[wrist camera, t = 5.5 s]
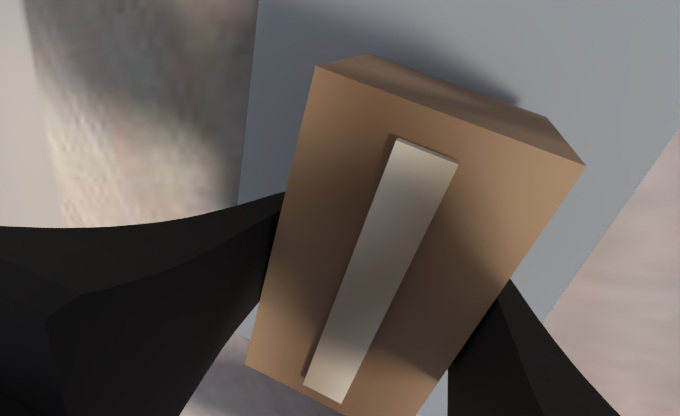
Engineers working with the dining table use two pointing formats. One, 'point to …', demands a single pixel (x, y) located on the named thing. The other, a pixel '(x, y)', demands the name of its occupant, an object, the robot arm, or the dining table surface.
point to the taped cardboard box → (398, 232)
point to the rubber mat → (494, 81)
